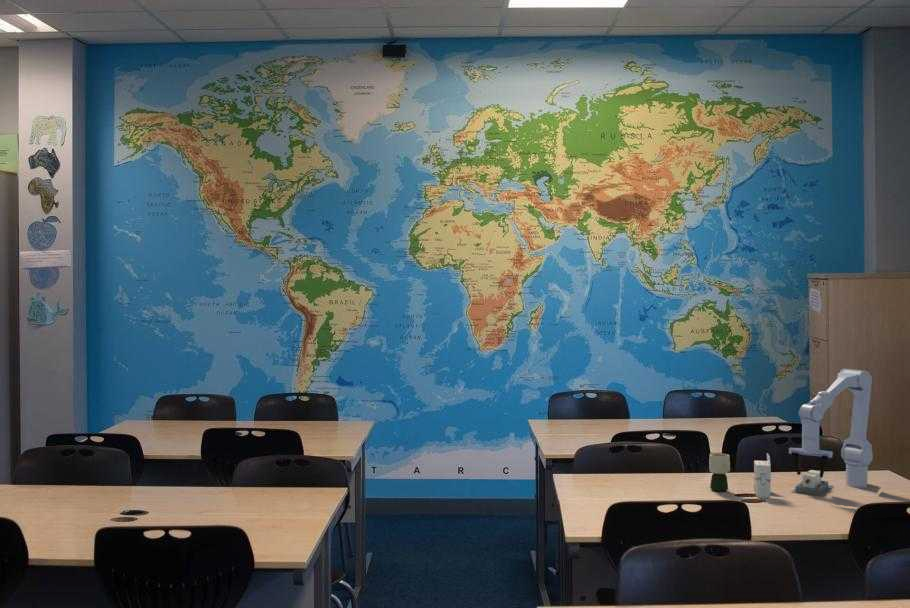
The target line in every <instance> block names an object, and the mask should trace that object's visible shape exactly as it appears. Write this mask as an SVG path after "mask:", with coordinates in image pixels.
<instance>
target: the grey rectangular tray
mask: <svg viewBox="0 0 910 608" xmlns="http://www.w3.org/2000/svg"><path fill="white" fill-rule="evenodd" d="M834 487H835V485H829V481H827V480H822V485H819V484H817V489H816V488H808V487H802V481H800V483H798V484H796V486H795V488H794V489H793V490H792V491H791V492H790V493H791V494H799V495H807V496H816V497H822V498H823V497H824V496H826V494H828V493H829V492H830V491H831V490H832V489H833V488H834Z"/></svg>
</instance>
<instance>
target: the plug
mask: <svg viewBox="0 0 910 608" xmlns="http://www.w3.org/2000/svg"><path fill="white" fill-rule="evenodd" d="M801 479H802V481H801V482H802V487H808V488H816V489H817V475H815V474H807V473H804V474H803V475H802V478H801Z"/></svg>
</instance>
